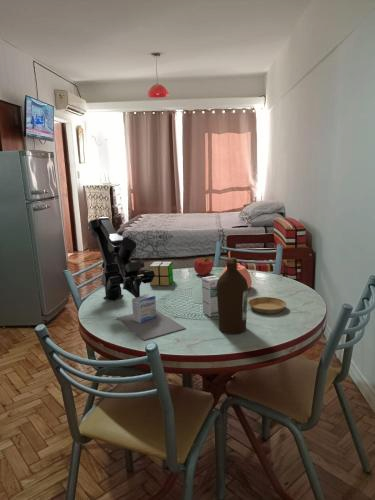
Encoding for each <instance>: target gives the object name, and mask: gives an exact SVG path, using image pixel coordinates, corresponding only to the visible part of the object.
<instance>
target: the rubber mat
mask: <svg viewBox="0 0 375 500" xmlns="http://www.w3.org/2000/svg"><path fill="white" fill-rule="evenodd" d="M116 319H118V321H119V322H120V323H122V324H123V325H124V326H125V327H127V328H128V329H129V330H130V331H131V332H133V333H134V334H135V335H137V336H138V337H139V338H140V339H141V340H143V341H148V340H151V339H155V338H159V337H163V336H165V335H166V336H167V335H169V334H173V333H176V332H180V331H184V330H186V328H187V327H185V326H183V325H182V324H181V323H178V322H177V321H176V320H173V319H172V318H171V317H169V316H167V315H165V314H164V313H163V312H161V311H159V310H157V309H156V318H153V319H150V320H148V321H146V322H143V323H139V322H136V321H134V320H133V313H129V314H126V315H122V316H117V317H116Z"/></svg>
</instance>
